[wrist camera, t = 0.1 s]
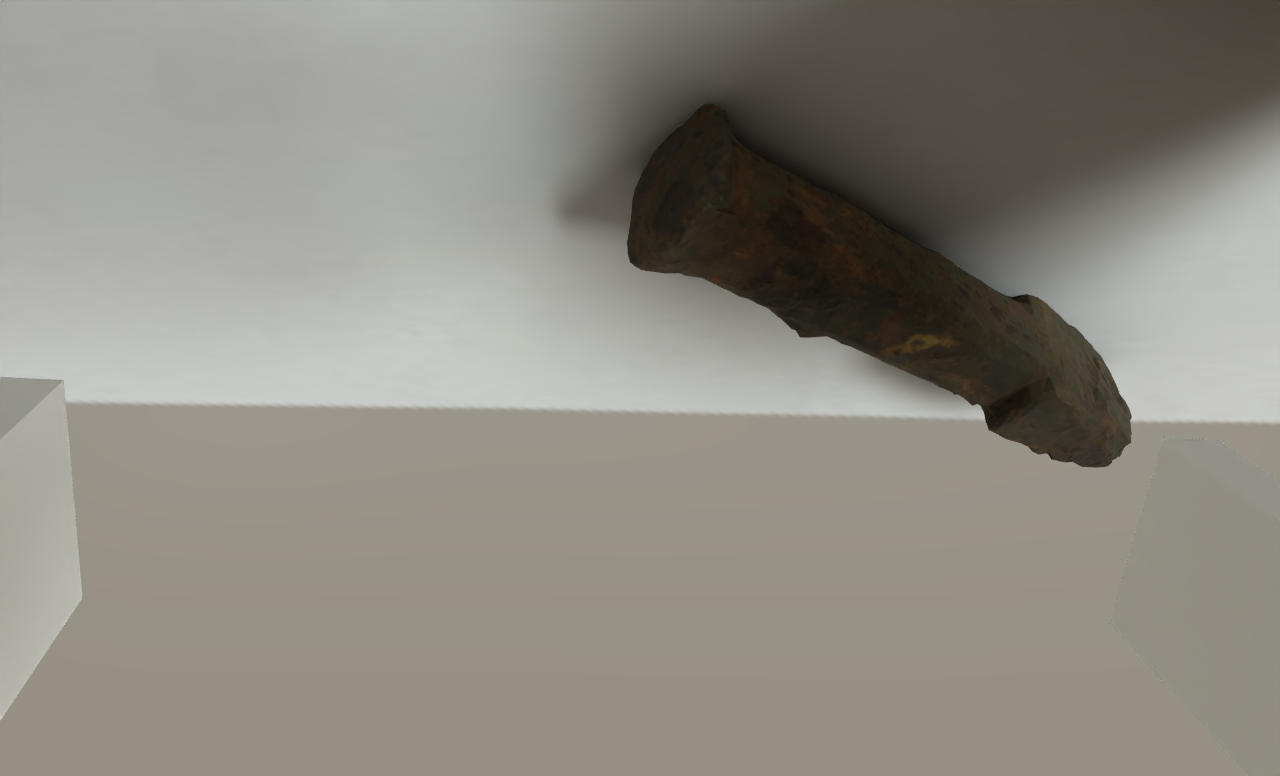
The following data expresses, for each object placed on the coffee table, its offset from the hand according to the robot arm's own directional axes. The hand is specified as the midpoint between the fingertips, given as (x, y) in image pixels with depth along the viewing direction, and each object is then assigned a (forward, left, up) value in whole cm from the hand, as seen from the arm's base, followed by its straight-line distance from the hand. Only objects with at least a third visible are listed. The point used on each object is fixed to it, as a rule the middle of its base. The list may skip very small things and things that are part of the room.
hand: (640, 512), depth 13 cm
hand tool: (+11, +11, -16) cm, 22 cm away
